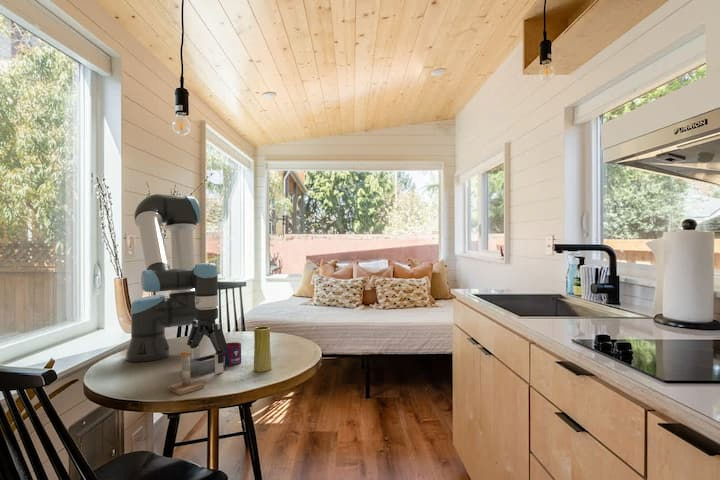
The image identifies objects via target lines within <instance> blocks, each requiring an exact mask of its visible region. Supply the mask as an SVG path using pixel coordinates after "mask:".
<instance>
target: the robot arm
mask: <svg viewBox="0 0 720 480" xmlns="http://www.w3.org/2000/svg"><path fill="white" fill-rule="evenodd" d="M201 212H202V211H201V206H200V203H199V201H198V199H197V198H196V197H194V196H191V195H190V196H189V195H185V194H184V195H177V194H161V193H160V194H159V193H156V194H151V195H149V196H147V197H145V198H144V199H142V200H141V202H139V203H138V205H137V206H136V209H135V210H134V224H135V226H136V227H137V228H138V229H139V235H140V240H141V241H140V242H141V247H142V252H143V259H144V264H145V269H146V270H143V271H142V272H141V276H140V277H141V278H140V279H141V280H140V281H141V289H142V291H143V292H145V293H158V292H159V293H160V292H167V291H168V292H169V293H168V294H169V297H165V295H164V294H155V295H148V296H143V297H139V298H137V299H136V298H135V300H133V301H132V302H131V308H130V315H131V316H130V317H131V318H130V319H131V321H130V325H131V326H130V333H131V335H130V337H131V338H130V341H129V345H128V348H127V350H126V353H125V360H126V361H127V360H128V361H127V362H132V363H142V362H145V363H146V362H151V361H156V360H161V359H164V358H167V357H169V356H170V355H171V349H170V346H169V343H168V340H167V337H166V331H165V330H166V328H175V327H182V326H183V327H184V326H191V329H190V332H189V336H188V340H187V343H186V344H187V346H189V347H190V348H191V351H190V357H191V359H194V358H198V357H201V353H200V352H201V351H200V343H201V342H202V339H203V337H204V336H205V337H207V338H209V339H210V341H211V344H212V346H213V348H214V350H215V353H214V354H215V371H214V374H215V375H217V374H220V373H224V368H223V362H224V352H226V351H228V347H227V344H226V343H227V341H226V337H225V335H224V331H223V327H222V322H218V323H216V320H217V319H219V308H218V306H219V293H218V292H219V291H218V290H219V289H218V288H219V287H218V283H219V282H218V281H219V280H218V275H219V272H218V264H216V263H215V262H205V263H196V264H195V248H194V247H195V246H194V245H195V244H194V230H195V229H196V228H197V227H198V226H197V225H198V224H200V222H201V219H202V217H201V215H202V213H201ZM163 223H164V224H165V225H166V229H168V231H170V242H171V245H170V246H171V266H172V267H170V262H169V255H168V252H167V248H166V243H165V238H164V234H163V230H162V224H163Z"/></svg>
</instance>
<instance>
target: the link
mask: <svg viewBox="0 0 720 480" xmlns="http://www.w3.org/2000/svg"><path fill="white" fill-rule="evenodd" d="M225 368H226V366H225V356H224V362H223V369H225ZM212 372H215V353H211V354H206V355H202V356H200V357H198V358H194V359H192V358H190V374H194V375H197V376H200V375H205V374H207V373H212Z"/></svg>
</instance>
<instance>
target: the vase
mask: <svg viewBox="0 0 720 480" xmlns="http://www.w3.org/2000/svg"><path fill="white" fill-rule="evenodd" d="M253 331H254V332H253V333H254V334H253V337H254V338H253V339H254V343H253V345H254V347H253V349H254V352H253V354H254V355H253V371H254V372H256V373H263V372H264V373H265V372H269V371H271V370H272V355H271V351H272V350H271V333H270V332H271V328H270V326H258V327H254V330H253Z"/></svg>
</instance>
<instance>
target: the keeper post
mask: <svg viewBox="0 0 720 480" xmlns="http://www.w3.org/2000/svg"><path fill="white" fill-rule="evenodd" d="M180 357H181V359H180V360H181V381H180V382H178V383H175V384H171V385H168V391H170V392H172V393H175V394H178V395H180V396H183V395H186V394H189V393H192V392H195V391H198V390H201V389H204V383H201V382H199V381H197V380H196V381H195V380H192V379H191V372H190V359H191V351H190V350H185V351H181V352H180Z"/></svg>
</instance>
